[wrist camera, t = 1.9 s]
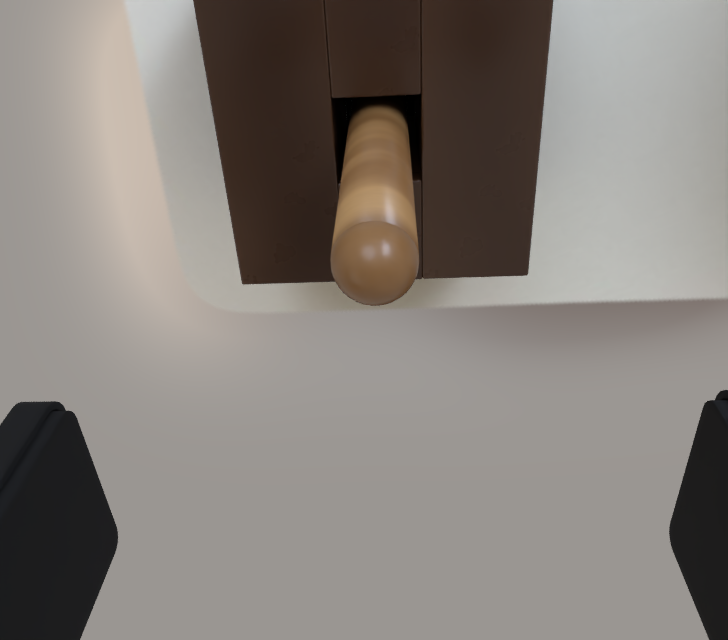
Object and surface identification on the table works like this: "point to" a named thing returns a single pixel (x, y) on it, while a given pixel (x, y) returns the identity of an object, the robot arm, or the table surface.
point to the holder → (369, 79)
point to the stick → (376, 205)
